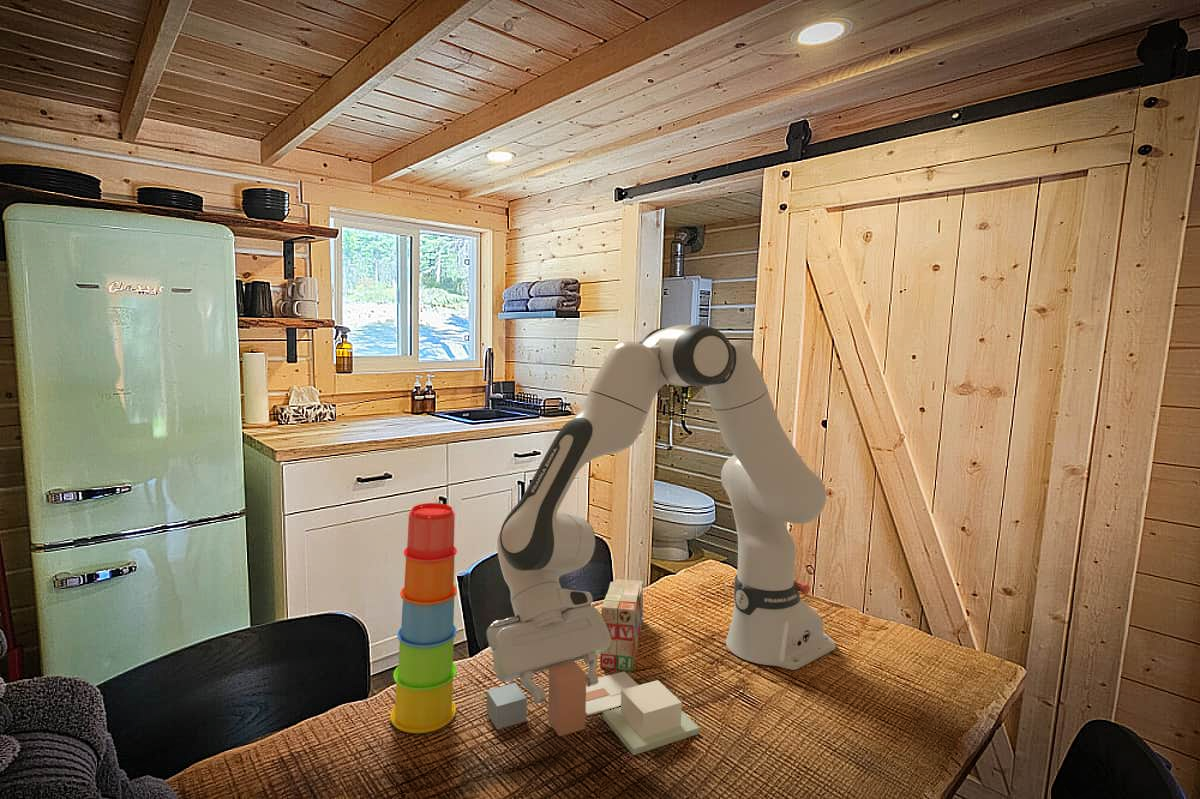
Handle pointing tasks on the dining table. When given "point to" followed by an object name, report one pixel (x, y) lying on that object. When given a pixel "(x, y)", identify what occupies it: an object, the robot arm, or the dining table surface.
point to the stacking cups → (427, 623)
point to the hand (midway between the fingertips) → (567, 693)
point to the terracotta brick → (567, 698)
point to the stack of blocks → (622, 623)
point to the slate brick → (506, 705)
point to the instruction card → (607, 692)
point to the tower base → (650, 741)
